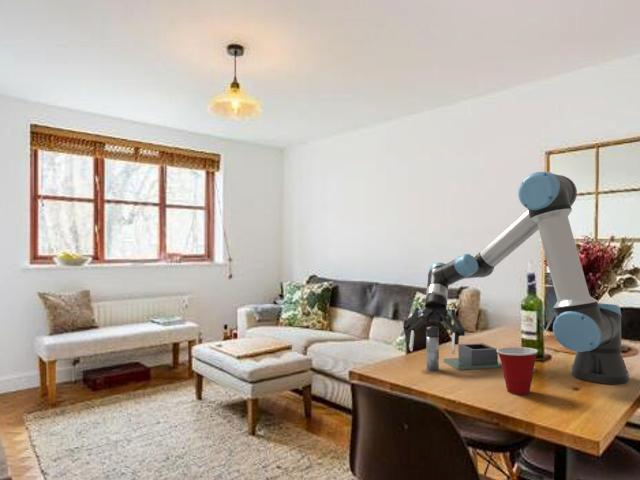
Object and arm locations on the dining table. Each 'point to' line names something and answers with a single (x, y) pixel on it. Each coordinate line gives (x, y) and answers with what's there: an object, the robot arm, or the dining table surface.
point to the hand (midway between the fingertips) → (431, 350)
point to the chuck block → (474, 357)
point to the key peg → (432, 348)
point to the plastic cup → (517, 368)
